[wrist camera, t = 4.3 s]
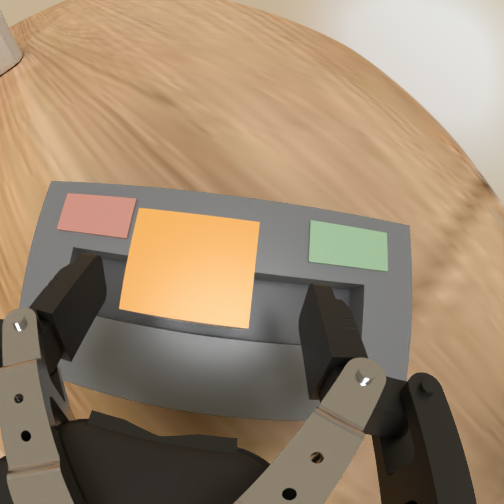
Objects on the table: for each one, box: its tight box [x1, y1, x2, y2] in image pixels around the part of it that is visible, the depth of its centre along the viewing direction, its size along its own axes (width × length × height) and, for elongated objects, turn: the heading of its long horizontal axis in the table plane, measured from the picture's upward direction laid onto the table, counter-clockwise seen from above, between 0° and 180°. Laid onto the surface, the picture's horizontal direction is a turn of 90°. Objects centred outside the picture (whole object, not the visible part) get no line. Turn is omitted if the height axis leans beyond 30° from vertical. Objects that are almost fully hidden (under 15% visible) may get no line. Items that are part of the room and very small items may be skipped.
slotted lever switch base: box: [20, 181, 412, 421], centre depth 16 cm, size 24×12×3 cm, turn 84°
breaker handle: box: [119, 208, 260, 329], centre depth 11 cm, size 3×2×10 cm
